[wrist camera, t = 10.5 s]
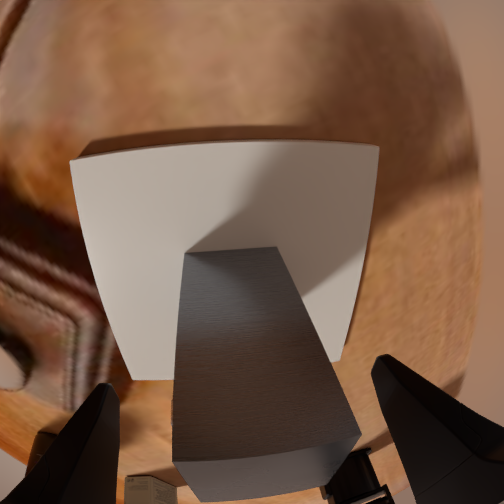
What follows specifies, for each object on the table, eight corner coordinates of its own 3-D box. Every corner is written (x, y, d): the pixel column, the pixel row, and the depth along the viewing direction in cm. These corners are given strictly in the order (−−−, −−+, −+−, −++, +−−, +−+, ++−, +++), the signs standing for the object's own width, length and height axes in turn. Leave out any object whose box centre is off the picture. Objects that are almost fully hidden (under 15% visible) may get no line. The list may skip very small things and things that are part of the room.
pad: (370, 143, 12) (379, 146, 11) (335, 352, 18) (339, 360, 18) (77, 157, 11) (69, 160, 10) (134, 370, 17) (132, 379, 16)
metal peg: (276, 246, 13) (362, 434, 5) (273, 317, 15) (326, 484, 7) (184, 252, 13) (172, 461, 5) (194, 323, 14) (200, 502, 7)
